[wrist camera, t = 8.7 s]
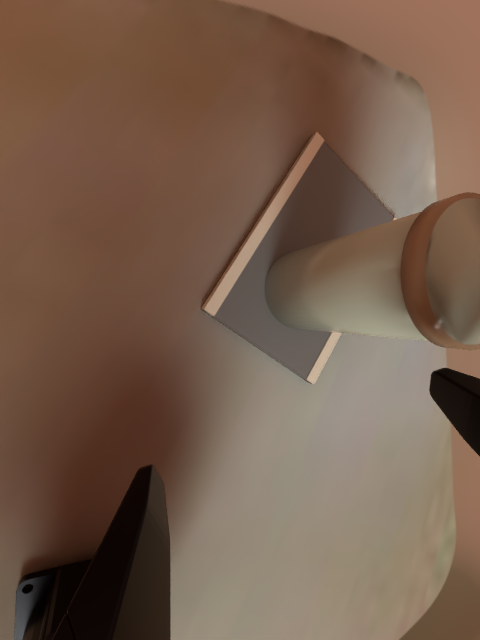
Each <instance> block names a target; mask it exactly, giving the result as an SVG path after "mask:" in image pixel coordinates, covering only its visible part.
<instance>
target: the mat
mask: <svg viewBox="0 0 480 640" xmlns="http://www.w3.org/2000/svg"><path fill="white" fill-rule="evenodd" d="M394 220H397V219H396V218H395V217H393V216H392V215H391V214H390V213H389V211H388V210H387V209H386V208H385V207H384V206H383V205H382V204H381V203H380V202H379V201H378V199H377V198H376V197H375V196H374V195H373V194H372V193H371V192H370V191H369V190H368V188H367V187H366V186H365V185H364V184H363V183H362V182H361V181H360V180H359V179H358V178H357V176H356V175H355V174H354V173H353V172H352V171H351V170H350V169H349V168H348V167H347V165H346V164H345V163H344V162H343V161H342V160H341V159H340V158H339V157H338V156H337V155H336V153H335V152H334V151H333V150H332V149H331V148H330V147H329V146H328V145H327V144H326V143H325V141H324V139H323V138H322V136H321V135H320V134H319V133H318V132H316V133H315V134H314V135H312V136H311V137H310V139H309V141H308V142H307V144H306V145H305V147H304V148H303V150H302V152H301V153H300V155H299V156H298V158H297V159H296V161H295V162H294V164H293V166H292V167H291V169H290V170H289V172H288V173H287V175H286V177H285V178H284V180H283V181H282V183H281V184H280V186H279V188H278V189H277V191H276V192H275V194H274V195H273V197H272V198H271V200H270V202H269V203H268V205H267V206H266V208H265V209H264V211H263V213H262V214H261V216H260V217H259V219H258V220H257V222H256V223H255V225H254V227H253V228H252V230H251V231H250V233H249V234H248V236H247V238H246V239H245V241H244V242H243V244H242V245H241V247H240V249H239V250H238V252H237V253H236V255H235V256H234V258H233V259H232V261H231V263H230V264H229V266H228V267H227V269H226V270H225V272H224V274H223V275H222V277H221V278H220V280H219V281H218V283H217V285H216V286H215V288H214V289H213V291H212V292H211V294H210V295H209V297H208V299H207V300H206V302H205V303H204V305H203V306H202V308H201V310H203V311H204V312H206V313H207V314H209V315H210V316H211V317H213V318H214V319H216V320H217V321H219V322H220V323H222V324H223V325H225V326H226V327H228V328H229V329H231V330H232V331H234V332H235V333H236V334H238V335H239V336H241V337H242V338H244V339H245V340H247V341H248V342H250V343H251V344H253V345H254V346H256V347H257V348H258V349H260V350H261V351H263V352H264V353H266V354H267V355H269V356H270V357H272V358H273V359H275V360H276V361H278V362H279V363H280V364H282V365H283V366H285V367H286V368H288V369H289V370H291V371H292V372H294V373H295V374H297V375H298V376H300V377H301V378H303V379H304V380H305V381H307V382H308V383H311V384H315V382H316V380H317V379H318V377H319V375H320V373H321V371H322V369H323V367H324V365H325V364H326V362H327V360H328V358H329V356H330V354H331V352H332V351H333V349H334V347H335V345H336V343H337V341H338V339H339V337H340V336H341V334H342V333H338V332H327V331H316V330H305V329H295V328H290V327H287V326H285V325H283V324H282V323H280V322H279V321H278V320H277V319H276V318H275V317H274V316H273V314H272V313H271V311H270V309H269V307H268V304H267V301H266V297H265V283H266V278H267V275H268V272H269V270H270V268H271V267H272V265H273V264H274V263H275V262H276V260H278V259H279V258H280V257H281V256H283V255H285V254H288V253H291V252H294V251H297V250H300V249H303V248H307V247H310V246H313V245H316V244H320V243H323V242H326V241H329V240H332V239H336V238H339V237H342V236H345V235H348V234H352V233H355V232H358V231H361V230H365V229H368V228H371V227H374V226H377V225H381V224H384V223H387V222H390V221H394Z"/></svg>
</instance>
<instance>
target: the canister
mask: <svg viewBox="0 0 480 640" xmlns="http://www.w3.org/2000/svg"><path fill="white" fill-rule="evenodd" d="M265 297H266V301H267V304H268V307H269V309H270V311H271V313H272V314H273V316H274V317H275V318H276V319H277V320H278V321H279V322H280V323H282V324H283V325H285V326H287V327H290V328H295V329H305V330H316V331H327V332H338V333H348V334H359V335H370V336H380V337H391V338H402V339H413V340H423V341H430V342H431V343H433V344H435V345H437V346H440V347H445V348H455V349H463V350H477V349H480V194H476V193H462V194H458V195H455V196H452V197H449V198H446V199H443V200H440V201H437V202H435V203H432V204H431V205H429V206H428V207H426V208H425V209H424V210H423V211H422V212H419V213H416V214H413V215H410V216H406V217H403V218H400V219H397V220H394V221H390V222H387V223H384V224H381V225H377V226H374V227H371V228H368V229H365V230H361V231H358V232H355V233H352V234H348V235H345V236H342V237H339V238H336V239H332V240H329V241H326V242H323V243H320V244H316V245H313V246H310V247H307V248H303V249H300V250H297V251H294V252H291V253H288V254H285V255H283V256H281V257H280V258H279V259H278V260H276V262H275V263H274V264H273V265H272V267H271V268H270V270H269V272H268V275H267V278H266V283H265Z"/></svg>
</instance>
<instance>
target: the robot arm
mask: <svg viewBox="0 0 480 640" xmlns="http://www.w3.org/2000/svg"><path fill="white" fill-rule="evenodd" d="M429 391H430V395H431V397H432V398H433V400H434V401H435V402H436V404H437V405H438V406H439V407H440V409H441V410H442V411H443V413H444V414H445V415H446V417H447V418H448V419H449V421H450V422H451V423H452V425H453V426H454V427H455V428H456V430H457V431H458V432H459V434H460V435H461V436H462V437H463V439H464V440H465V441H466V442H467V443H468V444H469V445H470V446H471V448H472V449H473V450H474V451H475V452H476V453H477V454H478V455H479V456H480V379H479V378H476V377H473V376H470V375H467V374H464V373H460V372H458V371H454V370H451V369H448V368H442V369H439V370H435V371H433V372H432V374H431V380H430V389H429ZM27 584H32V585H33V586H31V587H29V588H26V587H25V585H27ZM14 640H170V537H169V527H168V517H167V508H166V499H165V489H164V484H163V481H162V479H161V477H160V475H159V473H158V472H157V470H156V468H155V466H154V465H148V466H145V467H142V468H140V469H139V470H138V471H137V473H136V475H135V477H134V479H133V481H132V483H131V485H130V487H129V489H128V491H127V493H126V495H125V497H124V498H123V500H122V502H121V504H120V506H119V508H118V510H117V512H116V514H115V516H114V518H113V520H112V522H111V524H110V526H109V528H108V530H107V532H106V534H105V536H104V538H103V540H102V542H101V544H100V546H99V548H98V550H97V552H96V554H95V556H94V558H93V559H91V560H86V561H82V562H78V563H73V564H69V565H64V566H61V567H57V568H53V569H48V570H44V571H39V572H35V573H31V574H28V575H25V576H24V577H23V578H22V579H21V580H20V581H19V584H18V588H17V591H16V611H15V633H14Z"/></svg>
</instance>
